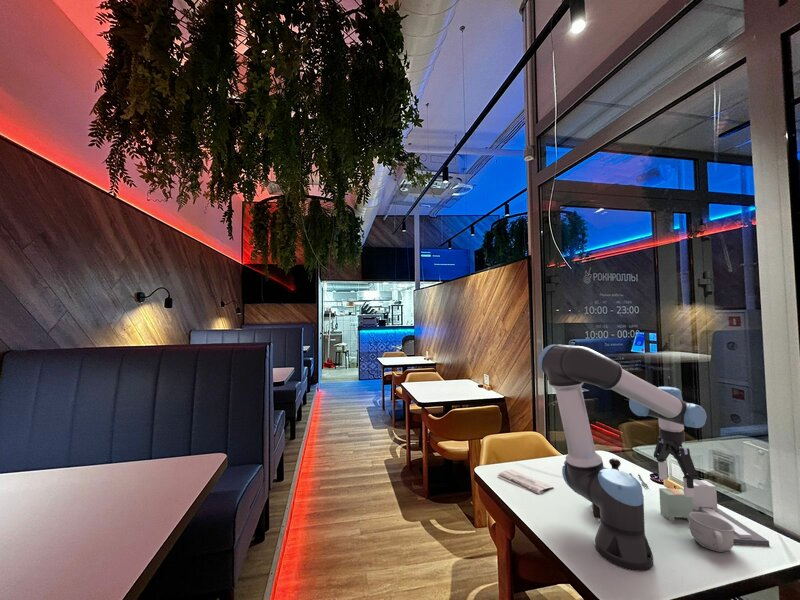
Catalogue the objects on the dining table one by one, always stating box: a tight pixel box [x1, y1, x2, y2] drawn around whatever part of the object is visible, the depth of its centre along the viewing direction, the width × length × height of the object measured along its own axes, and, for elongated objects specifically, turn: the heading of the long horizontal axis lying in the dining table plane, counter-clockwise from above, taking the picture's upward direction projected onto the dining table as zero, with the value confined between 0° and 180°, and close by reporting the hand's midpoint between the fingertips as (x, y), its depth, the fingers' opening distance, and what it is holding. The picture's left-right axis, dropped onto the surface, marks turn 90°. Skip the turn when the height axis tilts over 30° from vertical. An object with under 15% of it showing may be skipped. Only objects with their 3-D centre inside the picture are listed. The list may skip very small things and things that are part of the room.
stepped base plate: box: [692, 479, 770, 547], centre depth 124 cm, size 12×26×11 cm, turn 174°
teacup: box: [689, 512, 734, 553], centre depth 110 cm, size 14×11×8 cm
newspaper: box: [496, 469, 554, 495], centre depth 155 cm, size 23×12×2 cm, turn 33°
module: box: [658, 487, 693, 522], centre depth 127 cm, size 8×5×9 cm, turn 84°
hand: (675, 487), depth 128 cm, fingers open, 13 cm apart
